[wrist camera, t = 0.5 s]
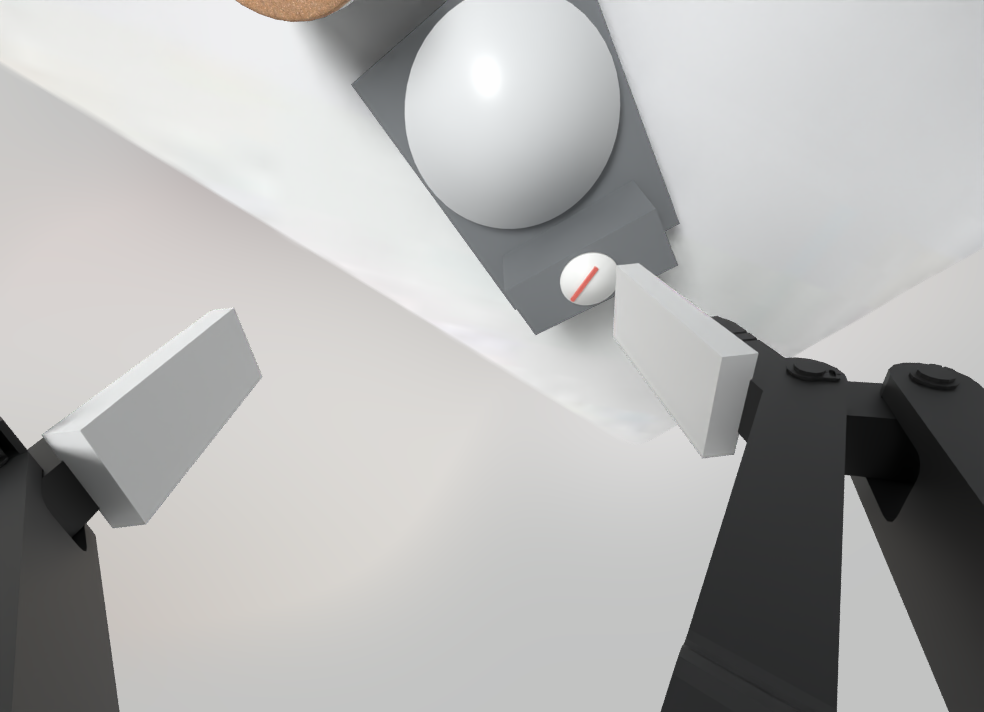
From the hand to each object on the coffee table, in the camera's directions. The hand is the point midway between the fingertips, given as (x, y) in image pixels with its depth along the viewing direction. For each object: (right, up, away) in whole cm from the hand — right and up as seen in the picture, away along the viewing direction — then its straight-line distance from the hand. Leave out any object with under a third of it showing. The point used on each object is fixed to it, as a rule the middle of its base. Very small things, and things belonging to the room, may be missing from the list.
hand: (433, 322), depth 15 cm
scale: (+5, +15, +19) cm, 25 cm away
